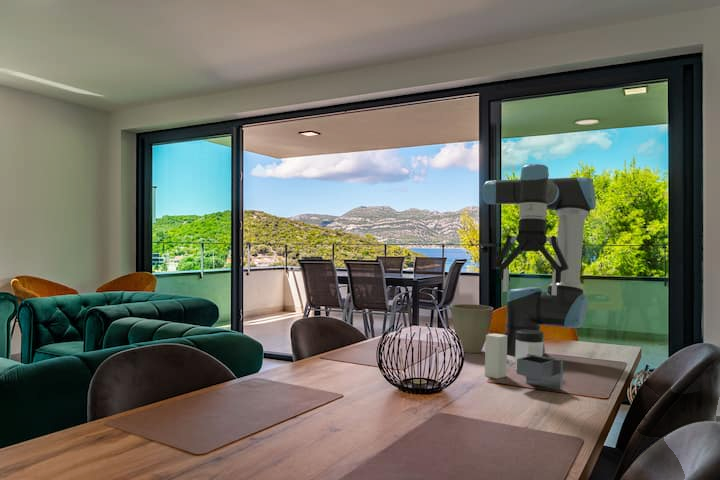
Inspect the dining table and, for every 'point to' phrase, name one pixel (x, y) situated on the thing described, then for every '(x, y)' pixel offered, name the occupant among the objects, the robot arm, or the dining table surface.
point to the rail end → (496, 355)
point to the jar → (528, 344)
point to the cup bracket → (541, 371)
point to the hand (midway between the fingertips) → (529, 293)
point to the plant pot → (471, 325)
